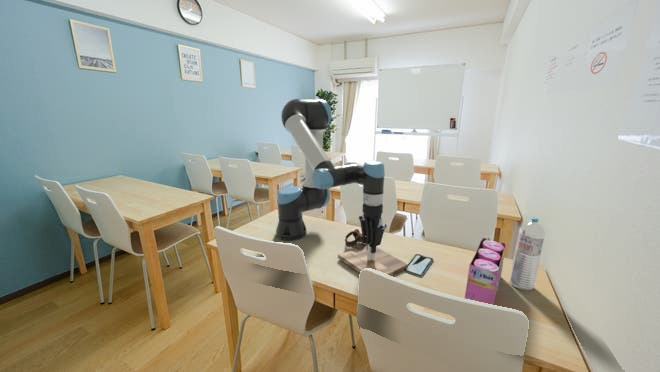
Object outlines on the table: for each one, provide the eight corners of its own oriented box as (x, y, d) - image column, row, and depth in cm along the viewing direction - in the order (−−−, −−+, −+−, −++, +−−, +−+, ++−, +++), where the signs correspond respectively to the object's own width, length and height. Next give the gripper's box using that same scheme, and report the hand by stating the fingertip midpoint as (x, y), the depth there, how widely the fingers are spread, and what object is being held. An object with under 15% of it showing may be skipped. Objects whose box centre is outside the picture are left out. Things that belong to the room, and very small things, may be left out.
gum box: (477, 267, 104) (482, 236, 101) (501, 275, 100) (507, 241, 96) (463, 301, 86) (468, 264, 83) (491, 312, 82) (498, 273, 78)
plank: (337, 257, 111) (338, 254, 111) (356, 252, 117) (356, 248, 116) (374, 282, 94) (374, 278, 94) (393, 275, 100) (393, 271, 100)
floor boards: (356, 252, 117) (356, 249, 116) (369, 246, 121) (369, 243, 121) (393, 275, 100) (393, 271, 100) (407, 267, 105) (407, 264, 104)
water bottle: (505, 280, 97) (517, 215, 90) (522, 278, 97) (536, 214, 91) (519, 292, 90) (533, 223, 83) (538, 291, 91) (554, 222, 84)
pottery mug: (370, 252, 118) (362, 239, 114) (350, 259, 120) (342, 246, 117) (367, 234, 128) (360, 222, 125) (350, 240, 131) (342, 229, 127)
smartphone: (402, 270, 103) (416, 253, 114) (402, 272, 103) (416, 255, 114) (421, 277, 98) (434, 258, 110) (421, 279, 99) (433, 260, 110)
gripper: (353, 200, 104) (353, 255, 110) (378, 210, 94) (375, 269, 100) (368, 196, 108) (366, 249, 114) (392, 205, 98) (389, 263, 104)
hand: (370, 258), depth 107 cm, fingers closed
